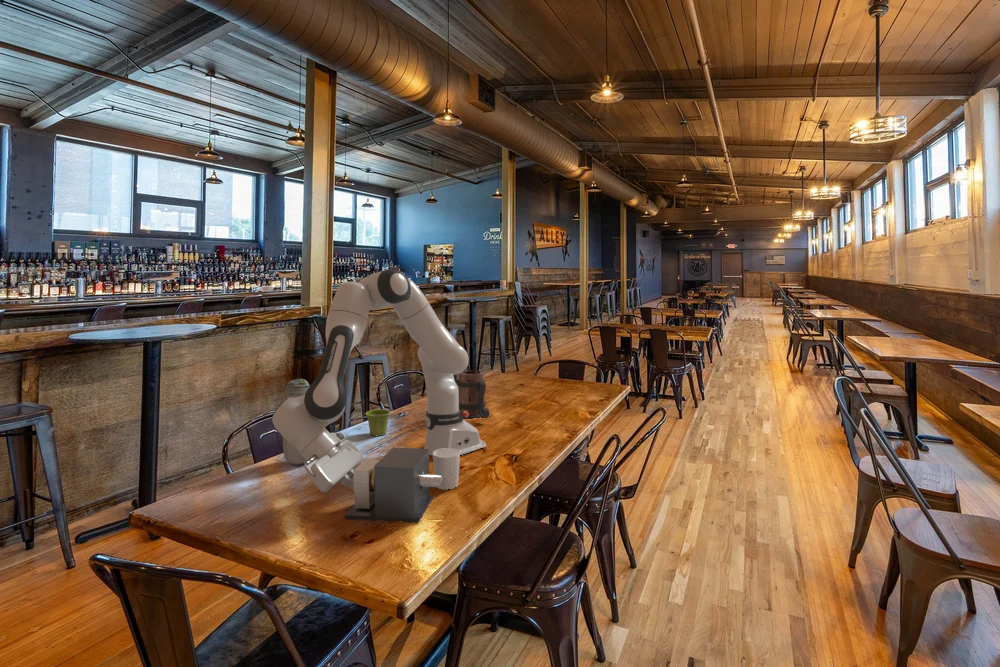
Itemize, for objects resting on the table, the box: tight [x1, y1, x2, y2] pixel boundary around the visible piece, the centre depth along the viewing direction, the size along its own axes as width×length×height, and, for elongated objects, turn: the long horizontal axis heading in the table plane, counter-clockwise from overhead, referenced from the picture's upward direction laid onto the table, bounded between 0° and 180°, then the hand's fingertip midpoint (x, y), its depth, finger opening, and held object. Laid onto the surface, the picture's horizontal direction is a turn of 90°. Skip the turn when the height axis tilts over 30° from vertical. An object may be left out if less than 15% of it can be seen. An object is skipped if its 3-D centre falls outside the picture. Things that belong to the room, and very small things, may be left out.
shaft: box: [353, 458, 443, 509], centre depth 129 cm, size 22×8×10 cm, turn 83°
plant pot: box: [365, 408, 391, 437], centre depth 193 cm, size 9×9×9 cm
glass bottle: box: [281, 378, 311, 466], centre depth 161 cm, size 10×10×28 cm
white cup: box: [432, 448, 461, 491], centre depth 144 cm, size 8×8×10 cm
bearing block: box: [344, 447, 434, 523], centre depth 129 cm, size 19×14×14 cm
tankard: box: [456, 370, 490, 419], centre depth 215 cm, size 24×17×20 cm
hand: (358, 487), depth 130 cm, fingers closed, pressing on shaft
